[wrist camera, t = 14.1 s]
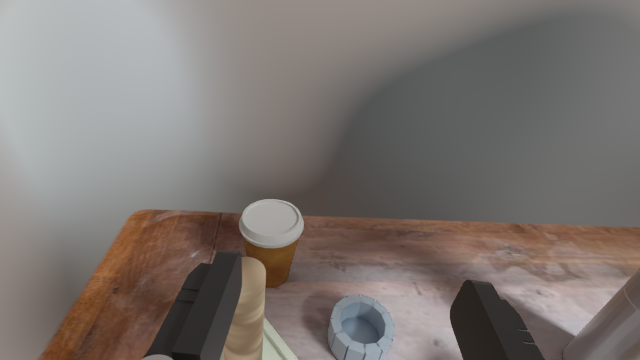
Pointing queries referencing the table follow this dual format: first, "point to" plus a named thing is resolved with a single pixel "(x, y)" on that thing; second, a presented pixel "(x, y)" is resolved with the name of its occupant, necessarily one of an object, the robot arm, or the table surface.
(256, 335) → the dowel
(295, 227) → the disposable coffee cup
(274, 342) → the tray
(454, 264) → the table surface
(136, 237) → the table surface
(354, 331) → the holder
